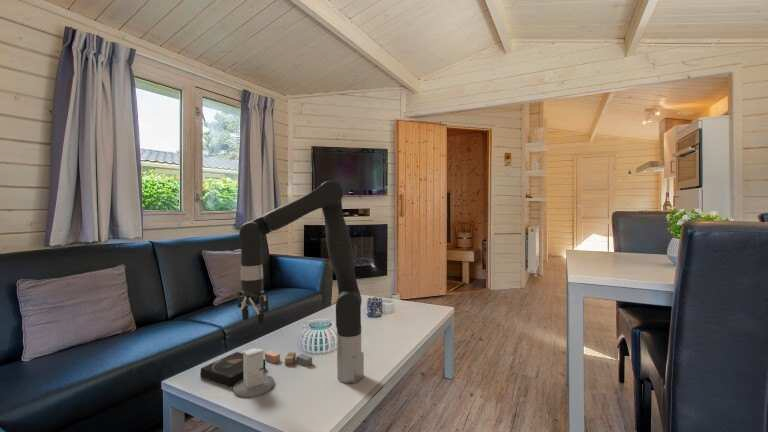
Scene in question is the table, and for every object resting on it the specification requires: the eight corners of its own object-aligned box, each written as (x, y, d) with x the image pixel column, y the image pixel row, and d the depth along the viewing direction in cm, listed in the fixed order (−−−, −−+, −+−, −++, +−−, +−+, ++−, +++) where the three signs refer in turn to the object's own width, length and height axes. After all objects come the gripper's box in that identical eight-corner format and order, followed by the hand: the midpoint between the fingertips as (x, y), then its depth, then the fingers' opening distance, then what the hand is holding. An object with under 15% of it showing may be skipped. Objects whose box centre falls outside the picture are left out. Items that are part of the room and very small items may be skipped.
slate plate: (282, 383, 129) (282, 380, 129) (249, 401, 117) (249, 398, 117) (257, 373, 136) (257, 371, 136) (224, 389, 125) (224, 387, 125)
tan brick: (292, 365, 144) (292, 358, 144) (285, 365, 144) (284, 358, 143) (295, 359, 150) (295, 352, 150) (288, 359, 150) (288, 352, 149)
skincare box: (247, 389, 123) (246, 355, 123) (243, 384, 127) (242, 351, 126) (264, 383, 127) (264, 350, 127) (259, 378, 131) (259, 346, 130)
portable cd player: (235, 360, 149) (235, 351, 149) (265, 369, 141) (265, 359, 141) (200, 378, 134) (200, 367, 134) (230, 388, 126) (230, 377, 126)
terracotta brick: (280, 360, 148) (279, 353, 148) (274, 363, 145) (274, 356, 145) (270, 357, 151) (270, 350, 151) (264, 360, 149) (264, 353, 149)
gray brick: (312, 364, 145) (312, 357, 145) (307, 367, 142) (307, 359, 142) (301, 360, 148) (301, 353, 148) (296, 363, 145) (296, 356, 145)
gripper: (273, 277, 125) (274, 322, 125) (248, 273, 132) (249, 315, 133) (256, 281, 118) (256, 328, 119) (230, 277, 126) (231, 321, 127)
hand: (252, 321), depth 126 cm, fingers open, 8 cm apart
